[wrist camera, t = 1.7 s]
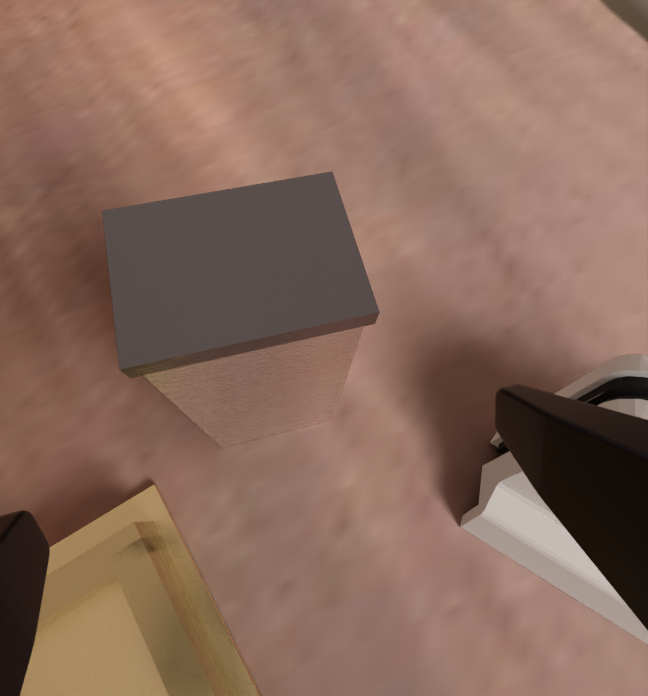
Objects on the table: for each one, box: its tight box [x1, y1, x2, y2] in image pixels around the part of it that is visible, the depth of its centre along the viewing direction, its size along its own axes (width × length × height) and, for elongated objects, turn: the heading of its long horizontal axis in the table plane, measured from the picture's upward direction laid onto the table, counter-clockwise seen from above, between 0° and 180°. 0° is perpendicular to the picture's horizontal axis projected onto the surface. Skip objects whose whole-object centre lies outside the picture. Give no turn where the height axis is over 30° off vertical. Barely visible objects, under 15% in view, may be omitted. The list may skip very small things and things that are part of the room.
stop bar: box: [102, 172, 379, 448], centre depth 15 cm, size 4×5×12 cm
